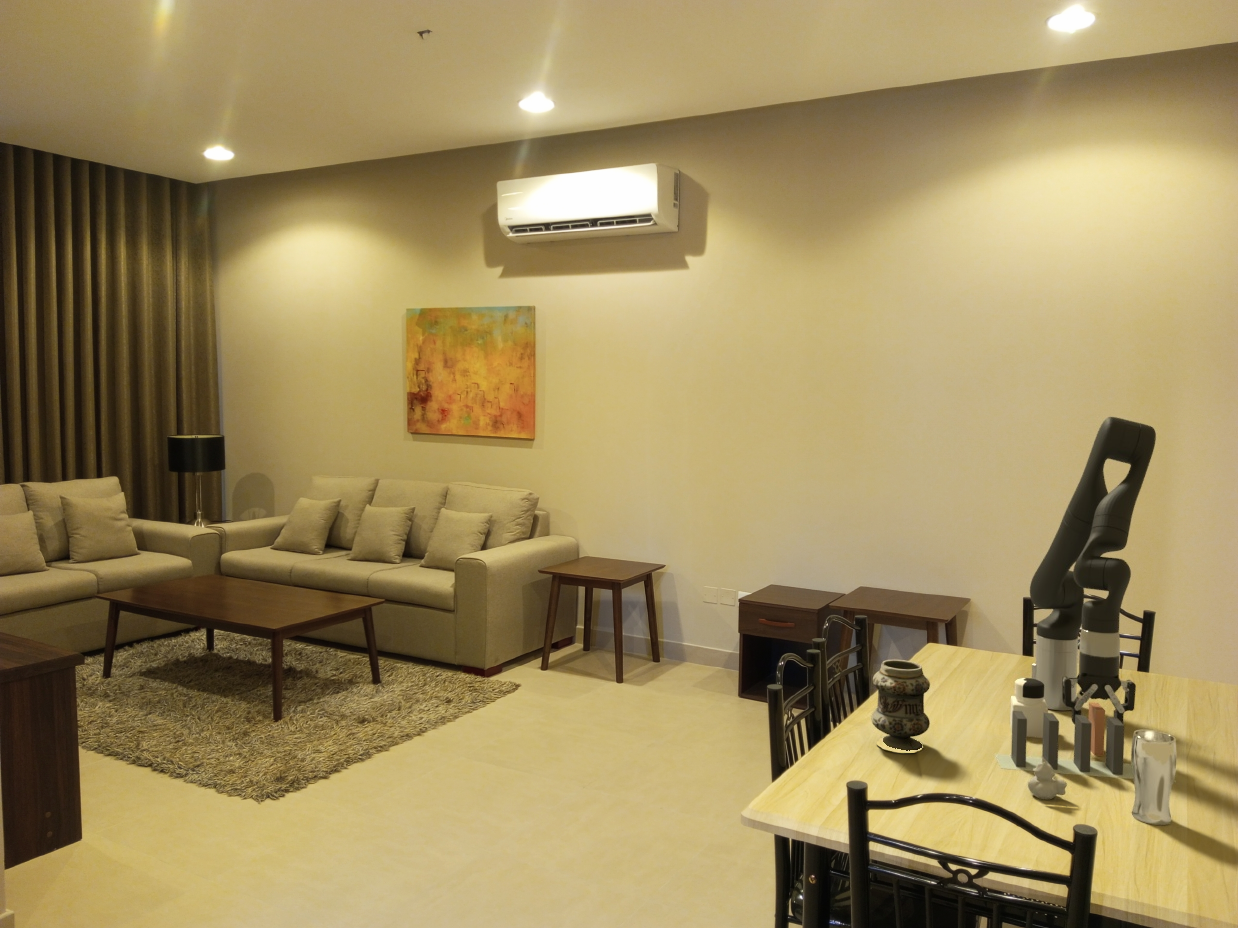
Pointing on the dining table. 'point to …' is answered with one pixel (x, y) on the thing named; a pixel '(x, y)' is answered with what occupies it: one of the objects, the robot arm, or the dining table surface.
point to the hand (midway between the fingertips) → (1097, 727)
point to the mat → (1065, 767)
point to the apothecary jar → (901, 703)
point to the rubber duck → (1045, 782)
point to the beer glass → (1153, 775)
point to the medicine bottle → (1030, 704)
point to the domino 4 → (1097, 728)
